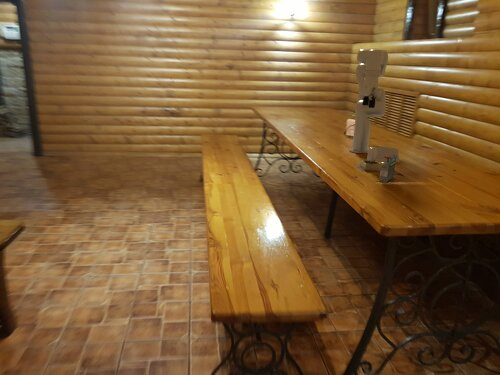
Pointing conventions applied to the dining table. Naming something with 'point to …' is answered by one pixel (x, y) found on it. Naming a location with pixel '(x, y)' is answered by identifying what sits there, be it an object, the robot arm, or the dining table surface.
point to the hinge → (386, 151)
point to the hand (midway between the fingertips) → (368, 106)
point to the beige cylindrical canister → (371, 155)
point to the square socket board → (373, 166)
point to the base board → (364, 170)
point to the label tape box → (387, 170)
